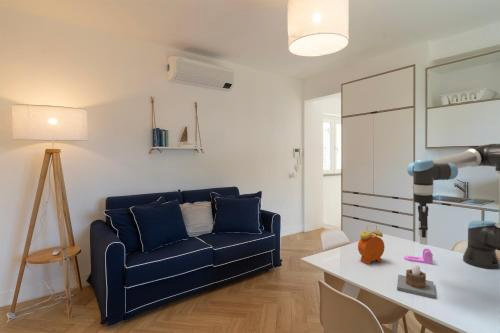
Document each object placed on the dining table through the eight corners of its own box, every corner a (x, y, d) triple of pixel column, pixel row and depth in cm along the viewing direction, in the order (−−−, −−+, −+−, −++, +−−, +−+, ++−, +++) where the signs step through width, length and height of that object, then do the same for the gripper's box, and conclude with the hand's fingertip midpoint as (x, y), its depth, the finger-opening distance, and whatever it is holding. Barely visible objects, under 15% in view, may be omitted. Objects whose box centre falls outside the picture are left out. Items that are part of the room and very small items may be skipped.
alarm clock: (376, 257, 157) (377, 223, 156) (384, 261, 151) (385, 225, 150) (357, 260, 153) (357, 225, 152) (364, 264, 147) (365, 228, 146)
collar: (424, 282, 124) (425, 271, 124) (425, 289, 118) (426, 278, 117) (406, 278, 128) (406, 268, 127) (405, 285, 121) (406, 274, 121)
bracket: (430, 260, 153) (430, 248, 152) (432, 264, 148) (432, 252, 147) (403, 257, 158) (404, 245, 158) (404, 260, 153) (405, 248, 153)
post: (433, 284, 125) (433, 264, 125) (435, 298, 113) (436, 276, 113) (398, 277, 132) (398, 258, 132) (397, 290, 120) (397, 268, 120)
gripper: (412, 189, 138) (412, 231, 139) (414, 197, 116) (413, 247, 117) (430, 190, 134) (430, 233, 135) (435, 198, 112) (435, 249, 113)
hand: (422, 239), depth 126 cm, fingers open, 13 cm apart
